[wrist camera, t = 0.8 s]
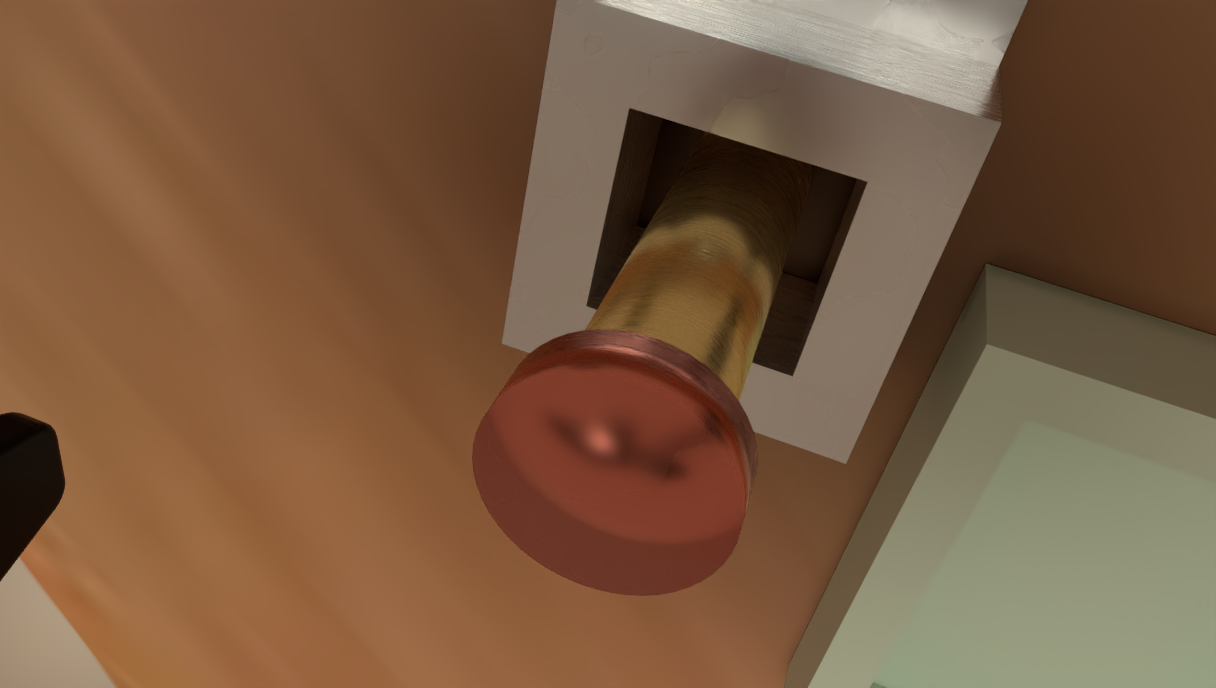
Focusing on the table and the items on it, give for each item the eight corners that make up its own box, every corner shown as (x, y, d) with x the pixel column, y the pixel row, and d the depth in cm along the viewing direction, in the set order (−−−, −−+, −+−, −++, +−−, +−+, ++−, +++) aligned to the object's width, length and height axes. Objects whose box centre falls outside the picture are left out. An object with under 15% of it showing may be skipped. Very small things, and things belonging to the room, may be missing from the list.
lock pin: (864, 116, 19) (779, 436, 11) (808, 266, 21) (702, 630, 13) (691, 64, 19) (490, 336, 11) (653, 216, 21) (458, 538, 13)
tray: (1538, 437, 18) (1621, 552, 16) (1166, 810, 26) (1184, 924, 24) (985, 263, 20) (986, 344, 17) (787, 666, 27) (769, 760, 25)
